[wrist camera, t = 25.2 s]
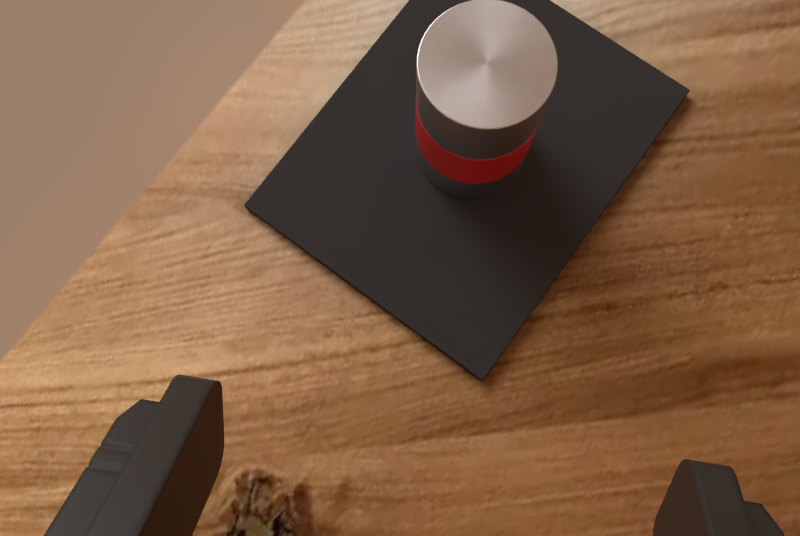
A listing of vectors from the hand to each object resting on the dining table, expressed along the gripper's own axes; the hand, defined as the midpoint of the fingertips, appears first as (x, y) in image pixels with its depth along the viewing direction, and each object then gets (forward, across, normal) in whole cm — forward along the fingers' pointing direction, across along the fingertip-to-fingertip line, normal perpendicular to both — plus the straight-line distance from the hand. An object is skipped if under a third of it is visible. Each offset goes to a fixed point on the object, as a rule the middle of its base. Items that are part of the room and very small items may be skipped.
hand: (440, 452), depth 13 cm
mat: (+30, 0, +8) cm, 31 cm away
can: (+30, 0, +7) cm, 30 cm away
